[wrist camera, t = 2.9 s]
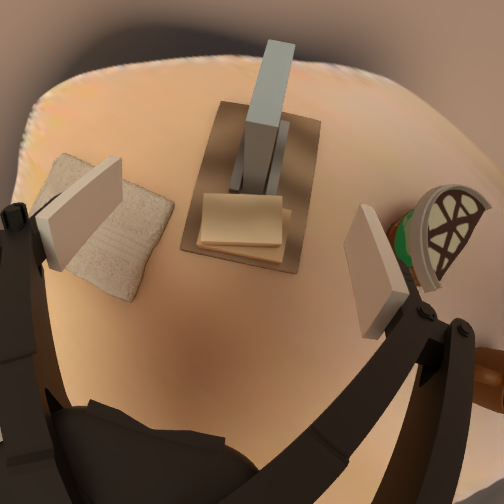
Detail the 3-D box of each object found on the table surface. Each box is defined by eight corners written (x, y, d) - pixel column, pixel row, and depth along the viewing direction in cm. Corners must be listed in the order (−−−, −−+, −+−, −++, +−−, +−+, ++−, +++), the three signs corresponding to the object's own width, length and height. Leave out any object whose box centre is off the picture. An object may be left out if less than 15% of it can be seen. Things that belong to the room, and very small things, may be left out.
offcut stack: (278, 264, 30) (286, 259, 25) (199, 248, 30) (192, 239, 25) (288, 213, 31) (297, 199, 26) (211, 197, 31) (206, 180, 26)
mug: (425, 389, 30) (471, 410, 20) (447, 332, 31) (497, 339, 21) (477, 401, 30) (519, 417, 20) (495, 352, 31) (540, 360, 21)
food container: (412, 186, 33) (459, 156, 23) (441, 223, 33) (493, 204, 23) (352, 252, 32) (396, 236, 22) (386, 293, 31) (438, 292, 21)
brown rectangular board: (295, 274, 31) (301, 272, 28) (181, 250, 31) (175, 245, 28) (319, 125, 33) (325, 112, 30) (221, 105, 33) (220, 91, 30)
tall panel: (261, 196, 31) (278, 127, 17) (242, 192, 31) (245, 120, 17) (275, 131, 32) (295, 44, 18) (257, 128, 32) (268, 39, 18)
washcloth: (66, 156, 32) (55, 146, 29) (181, 203, 32) (175, 195, 29) (28, 239, 31) (13, 235, 28) (135, 303, 30) (125, 305, 27)
